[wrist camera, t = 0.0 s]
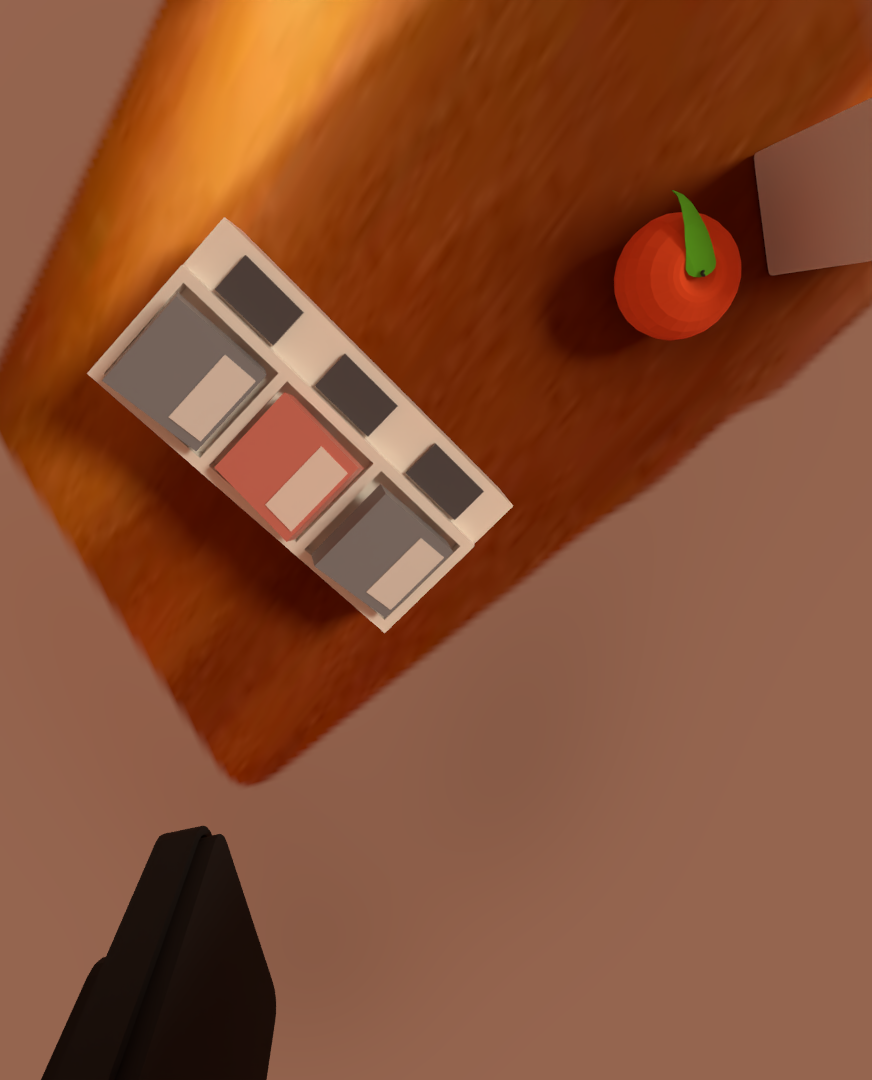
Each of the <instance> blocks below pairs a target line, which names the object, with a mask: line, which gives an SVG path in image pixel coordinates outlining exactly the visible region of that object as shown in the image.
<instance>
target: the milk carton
mask: <svg viewBox="0 0 872 1080" xmlns="http://www.w3.org/2000/svg"><path fill="white" fill-rule="evenodd" d="M754 163H755V172H756V180H757V188H758V195H759V203H760V211H761V219H762V227H763V235H764V243H765V251H766V259H767V266H768V272H769V274H770V275H779V274H786V273H793V272H799V271H806V270H813V269H820V268H827V267H833V266H840V265H847V264H854V263H860V262H867V261H872V98H870V99H868V100H866V101H864V102H862V103H860V104H858V105H855V106H853V107H851V108H849V109H847V110H845V111H843V112H841V113H839V114H837V115H834V116H832V117H830V118H828V119H826V120H824V121H822V122H820V123H818V124H816V125H814V126H811V127H809V128H807V129H805V130H803V131H801V132H799V133H797V134H795V135H793V136H790V137H788V138H786V139H784V140H782V141H780V142H778V143H776V144H774V145H772V146H769V147H767V148H765V149H763V150H761V151H759V152H757V153H756V154H755V155H754Z"/></svg>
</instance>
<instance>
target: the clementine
mask: <svg viewBox="0 0 872 1080" xmlns="http://www.w3.org/2000/svg"><path fill="white" fill-rule="evenodd" d="M672 191H673V192H674V193H675V194H676V195H677V197H678V199H679V202H680V205H681V210H682V212H677V213H669V214H665V215H663V216H660V217H658V218H656V219H653V220H651V221H650V222H649V223H647V224H646V225H645V226H643V227H642V228H641V229H640V230H638V231H637V232H636V233H635V234H634V235H633V236H632V237H631V239H630V240H629V241H628V243H627V244H626V245H625V246H624V248H623V250H622V252H621V255H620V257H619V259H618V261H617V265H616V270H615V275H614V292H615V297H616V300H617V303H618V307H619V309H620V311H621V312H622V314H623V316H624V317H625V319H626V320H627V321H628V322H629V323H630V324H631V325H632V326H633V327H634V328H635V329H636V330H638V331H640V332H642V333H644V334H646V335H648V336H650V337H653V338H656V339H663V340H669V341H670V340H678V339H685V338H688V337H691V336H694V335H696V334H699V333H701V332H703V331H705V330H707V329H708V328H709V327H711V326H712V325H713V324H715V323H716V322H718V320H719V319H720V318H721V317H722V316H723V314H724V313H725V312H726V311H727V310H728V308H729V307H730V305H731V303H732V301H733V299H734V297H735V295H736V293H737V291H738V287H739V283H740V279H741V258H740V254H739V250H738V246H737V245H736V243H735V241H734V239H733V237H732V236H731V234H730V233H729V232H728V231H727V230H726V229H725V228H724V227H723V226H722V225H721V224H720V223H719V222H718V221H716V220H714V219H712V218H711V217H709V216H707V215H705V214H700V213H698V211H697V210H696V208H695V207H694V205H693V204H692V202H691V201H690V200H688V199H687V198H686V197H685V196H684V195H683V194H681V193H679V192H676V191H674V190H672Z"/></svg>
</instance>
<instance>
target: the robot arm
mask: <svg viewBox="0 0 872 1080" xmlns="http://www.w3.org/2000/svg"><path fill="white" fill-rule="evenodd" d="M275 1017H276V997H275V989H274V985H273V982H272V978H271V975H270V972H269V969H268V966H267V963H266V960H265V957H264V954H263V951H262V948H261V945H260V942H259V939H258V936H257V933H256V930H255V927H254V924H253V921H252V918H251V915H250V911H249V908H248V906H247V902H246V899H245V896H244V893H243V890H242V887H241V884H240V881H239V878H238V875H237V872H236V869H235V866H234V863H233V860H232V857H231V854H230V851H229V848H228V845H227V842H226V840H225V837H224V836H223V835H221V834H217V835H213V836H212V834H211V832H210V830H209V829H208V828H207V827H205V826H200V827H195V828H190V829H185V830H180V831H176V832H171V833H166V834H163V835H161V836H159V838H158V840H157V841H156V843H155V845H154V848H153V850H152V852H151V855H150V857H149V859H148V861H147V864H146V866H145V868H144V871H143V873H142V875H141V878H140V880H139V882H138V884H137V887H136V889H135V891H134V894H133V896H132V898H131V901H130V903H129V905H128V907H127V910H126V912H125V914H124V917H123V919H122V921H121V924H120V926H119V928H118V930H117V933H116V935H115V937H114V940H113V942H112V944H111V947H110V949H109V951H108V953H107V956H106V957H104V958H102V959H101V960H99V961H98V962H97V963H96V964H95V965H94V967H93V968H92V970H91V972H90V973H89V975H88V977H87V979H86V981H85V983H84V985H83V988H82V990H81V992H80V994H79V997H78V999H77V1001H76V1003H75V1005H74V1008H73V1010H72V1012H71V1014H70V1017H69V1019H68V1021H67V1023H66V1026H65V1028H64V1030H63V1032H62V1034H61V1037H60V1039H59V1041H58V1043H57V1045H56V1048H55V1050H54V1052H53V1055H52V1056H51V1059H50V1061H49V1063H48V1065H47V1068H46V1070H45V1072H44V1074H43V1077H42V1079H41V1080H266V1079H267V1072H268V1065H269V1059H270V1051H271V1045H272V1038H273V1031H274V1025H275Z"/></svg>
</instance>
